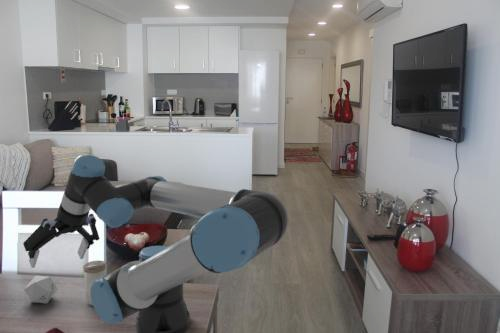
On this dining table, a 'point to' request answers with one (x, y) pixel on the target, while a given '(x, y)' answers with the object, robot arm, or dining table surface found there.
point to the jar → (93, 276)
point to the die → (40, 289)
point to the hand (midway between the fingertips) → (56, 259)
